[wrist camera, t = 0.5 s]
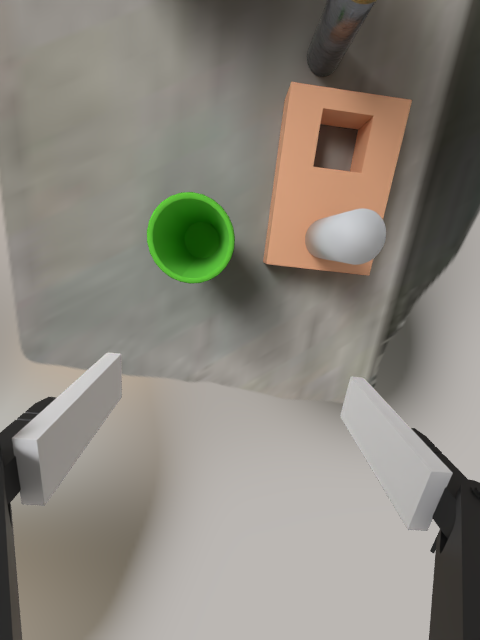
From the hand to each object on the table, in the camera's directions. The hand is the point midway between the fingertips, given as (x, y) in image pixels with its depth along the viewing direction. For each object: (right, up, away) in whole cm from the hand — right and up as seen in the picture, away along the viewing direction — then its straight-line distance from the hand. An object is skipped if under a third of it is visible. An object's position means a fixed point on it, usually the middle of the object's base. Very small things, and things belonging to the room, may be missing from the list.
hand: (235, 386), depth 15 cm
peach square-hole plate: (+12, +21, +21) cm, 32 cm away
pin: (+10, +36, +17) cm, 41 cm away
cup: (-5, +15, +23) cm, 28 cm away
